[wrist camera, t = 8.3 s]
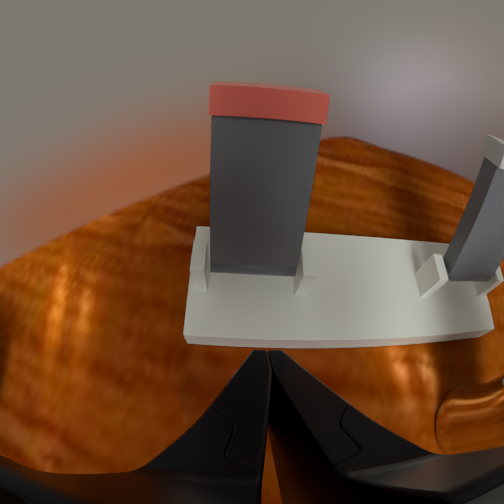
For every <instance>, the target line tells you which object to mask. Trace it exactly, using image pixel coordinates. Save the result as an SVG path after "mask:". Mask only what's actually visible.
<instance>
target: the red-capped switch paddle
mask: <svg viewBox="0 0 504 504" xmlns="http://www.w3.org/2000/svg"><path fill="white" fill-rule="evenodd" d="M329 98H330V95H328V94H326V93H325V92H322V91H320V90H315V89H307V88H298V87H291V86H281V85H270V84H258V83H239V82H214V83H212V84H211V85H210V95H209V115H212V124H211V162H210V163H211V164H210V271H211V272H214V273H231V274H250V275H271V276H292V277H295V275H296V271H297V267H298V263H299V258H300V253H301V248H302V242H303V237H304V231H305V226H306V220H307V215H308V209H309V203H310V198H311V192H312V186H313V180H314V174H315V167H316V161H317V155H318V148H319V142H320V135H321V128H322V124H326V118H327V112H328V105H329Z"/></svg>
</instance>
